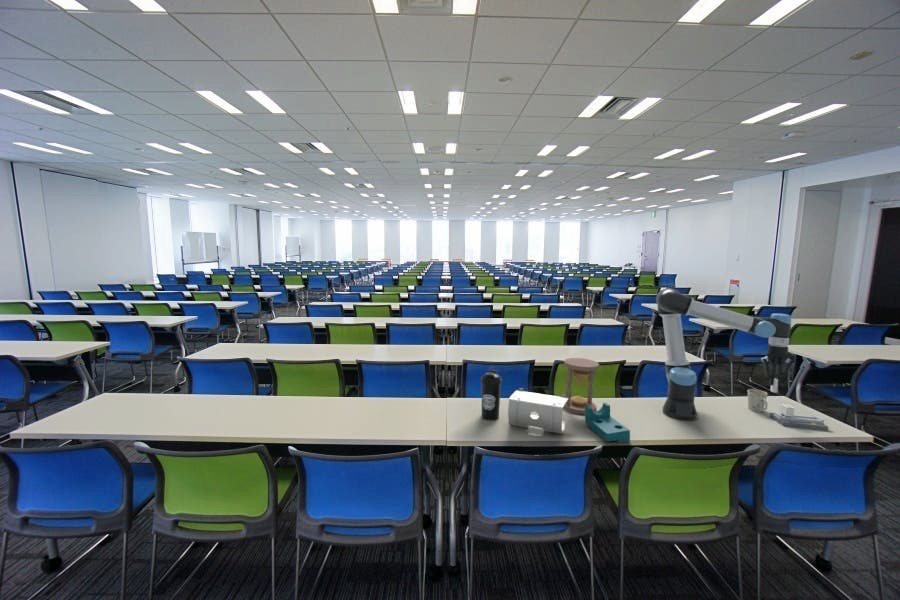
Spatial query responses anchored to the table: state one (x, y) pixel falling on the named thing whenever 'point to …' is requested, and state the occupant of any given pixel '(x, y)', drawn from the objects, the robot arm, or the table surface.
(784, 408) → the fader tab
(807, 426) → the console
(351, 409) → the table surface
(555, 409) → the portable electronic device stand
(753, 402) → the mug
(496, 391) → the water bottle
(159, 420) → the table surface
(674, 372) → the robot arm
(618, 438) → the teal l-shaped bracket
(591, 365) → the hourglass
